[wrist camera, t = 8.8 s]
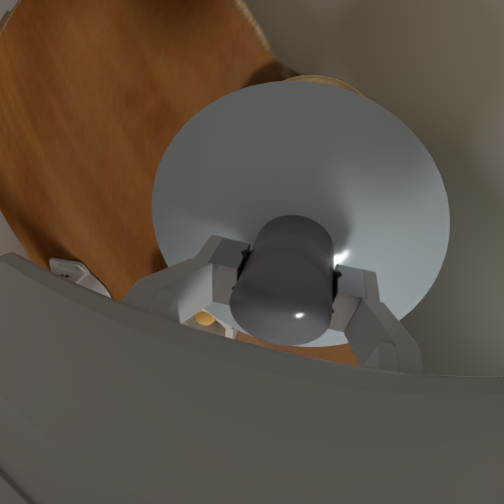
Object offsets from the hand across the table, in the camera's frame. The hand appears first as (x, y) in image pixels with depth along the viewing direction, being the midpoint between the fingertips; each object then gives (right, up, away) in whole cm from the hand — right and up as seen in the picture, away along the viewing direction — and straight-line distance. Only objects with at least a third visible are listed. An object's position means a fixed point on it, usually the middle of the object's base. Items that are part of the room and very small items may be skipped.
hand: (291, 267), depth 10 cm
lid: (0, +1, +2) cm, 2 cm away
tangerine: (-9, -10, +35) cm, 38 cm away
